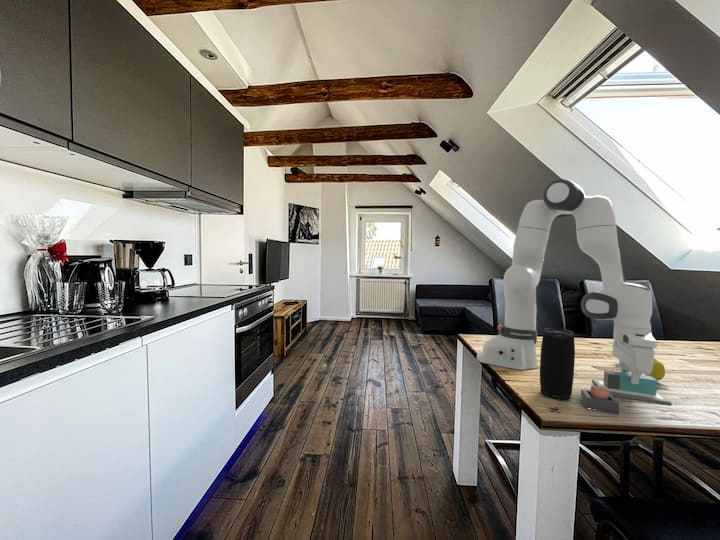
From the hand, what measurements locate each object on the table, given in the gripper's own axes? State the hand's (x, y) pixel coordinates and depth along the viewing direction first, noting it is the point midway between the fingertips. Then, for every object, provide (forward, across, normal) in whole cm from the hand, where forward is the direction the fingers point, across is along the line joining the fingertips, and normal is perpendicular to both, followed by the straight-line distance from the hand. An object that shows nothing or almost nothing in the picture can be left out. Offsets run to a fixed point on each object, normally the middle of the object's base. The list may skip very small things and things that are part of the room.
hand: (629, 379), depth 100 cm
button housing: (+4, +17, -12) cm, 21 cm away
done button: (+2, +17, -12) cm, 21 cm away
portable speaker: (+4, +14, -22) cm, 26 cm away
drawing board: (+4, 0, 0) cm, 4 cm away
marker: (+3, 0, 0) cm, 3 cm away
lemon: (+4, -16, +12) cm, 20 cm away
